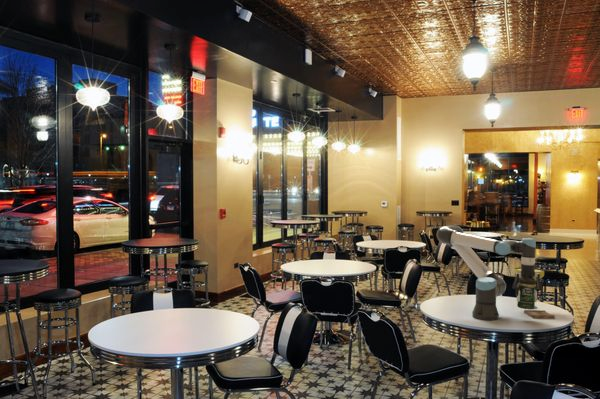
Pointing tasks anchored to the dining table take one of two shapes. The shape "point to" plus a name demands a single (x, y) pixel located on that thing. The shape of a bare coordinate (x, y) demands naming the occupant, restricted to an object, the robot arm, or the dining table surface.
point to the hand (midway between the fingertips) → (526, 301)
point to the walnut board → (538, 314)
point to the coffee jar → (527, 293)
